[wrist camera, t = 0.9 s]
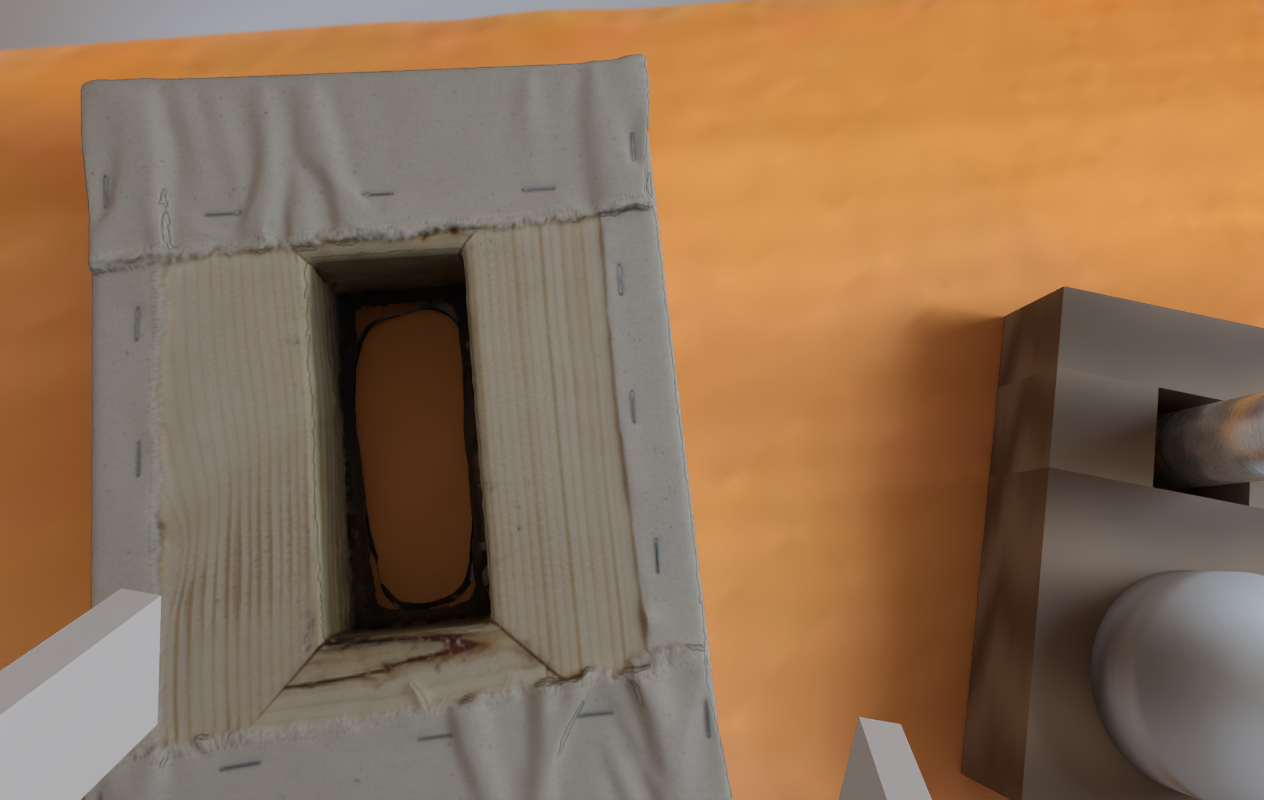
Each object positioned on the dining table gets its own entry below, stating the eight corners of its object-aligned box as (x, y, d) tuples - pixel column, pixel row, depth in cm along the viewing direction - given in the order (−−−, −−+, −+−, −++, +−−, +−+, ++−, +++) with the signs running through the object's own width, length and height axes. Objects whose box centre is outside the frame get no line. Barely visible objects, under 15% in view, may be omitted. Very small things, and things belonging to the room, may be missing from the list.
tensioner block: (1246, 820, 40) (1417, 886, 32) (961, 773, 39) (1066, 829, 31) (1262, 369, 44) (1417, 330, 36) (1004, 316, 43) (1107, 264, 35)
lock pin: (1158, 499, 42) (1452, 474, 29) (1091, 486, 42) (1357, 455, 28) (1162, 430, 43) (1452, 374, 29) (1096, 417, 43) (1358, 354, 29)
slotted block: (714, 780, 39) (631, 119, 43) (754, 839, 31) (647, 30, 36) (174, 862, 36) (150, 151, 41) (73, 948, 28) (58, 62, 33)
